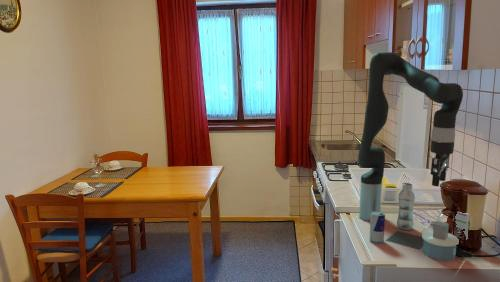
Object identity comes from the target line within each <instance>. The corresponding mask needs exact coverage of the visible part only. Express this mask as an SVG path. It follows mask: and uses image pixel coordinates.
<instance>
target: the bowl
mask: <svg viewBox="0 0 500 282" xmlns="http://www.w3.org/2000/svg"><path fill="white" fill-rule="evenodd" d="M422 253H423V254H424V255H425V256H427V257H428V258H430V259H433V260H438V261H440V262H441V261H442V262H446V261H447V262H448V261H449V262H450V261H454V259H455V258H456V256H457V255H456V253H457V246H452V247H444V246H438V245H434V244H431V243H428V242H426V241H425V240H424V241H423V247H422Z"/></svg>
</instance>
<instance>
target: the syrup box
mask: <svg viewBox="0 0 500 282" xmlns="http://www.w3.org/2000/svg"><path fill="white" fill-rule="evenodd" d="M469 216H470V215H469V214H468V213H462V212H457V214H456V216H455V219H456V224H457V225H456V227H458V228H460V229H462V230H463V229H465V231H463V232H464V234H465V236H466V240H467V239H468V231H469V230H468V229H469V226H470V219H469V218H470V217H469Z"/></svg>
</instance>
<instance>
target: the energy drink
mask: <svg viewBox="0 0 500 282" xmlns="http://www.w3.org/2000/svg"><path fill="white" fill-rule="evenodd" d="M385 221H386V214H385V213H384V212H383V211H381V210H380V211H373V212H371V219H370V221H369V223H370V224H369V239H368V240H369V243H371V244H372V245H383V244H384V242H385V228H386V227H385V226H386V224H385V223H386V222H385Z"/></svg>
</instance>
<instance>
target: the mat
mask: <svg viewBox="0 0 500 282" xmlns="http://www.w3.org/2000/svg"><path fill="white" fill-rule="evenodd" d="M385 241H386V242H390V243H393V244H397V245H400V246H404V247H408V248H412V249H416V250H421V249H423V241H424V240H423V238H422V235H421V236H420V235H417V234H412V233H408V232H406V231H405V232H404V231H400V230H396V231H395V232H394V233H393V234H392V235H390V236H389V237H388V238H386V239H385Z"/></svg>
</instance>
